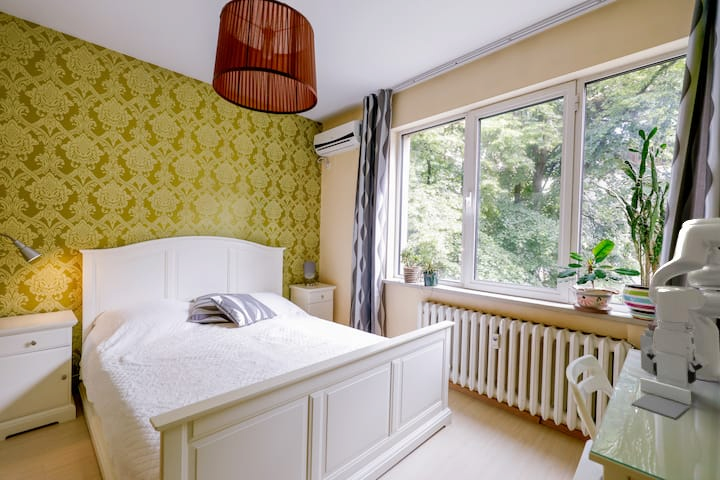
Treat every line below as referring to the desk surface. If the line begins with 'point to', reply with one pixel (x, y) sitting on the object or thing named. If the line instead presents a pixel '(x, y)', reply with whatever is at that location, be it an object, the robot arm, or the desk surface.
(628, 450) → the desk surface
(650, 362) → the perfume bottle
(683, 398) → the frosted wall
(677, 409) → the charcoal mat
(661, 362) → the supplement box
